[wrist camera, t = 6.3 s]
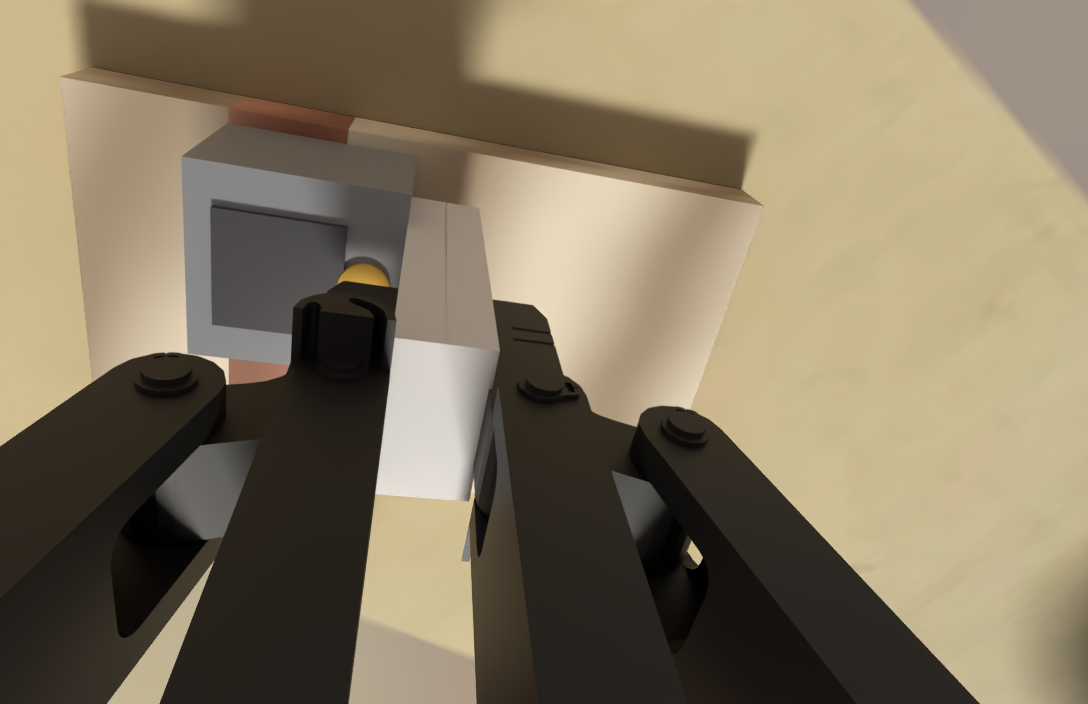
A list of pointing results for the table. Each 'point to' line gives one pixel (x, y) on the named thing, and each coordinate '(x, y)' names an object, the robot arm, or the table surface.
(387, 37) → the table surface
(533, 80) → the table surface
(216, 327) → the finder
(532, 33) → the table surface
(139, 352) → the plank
